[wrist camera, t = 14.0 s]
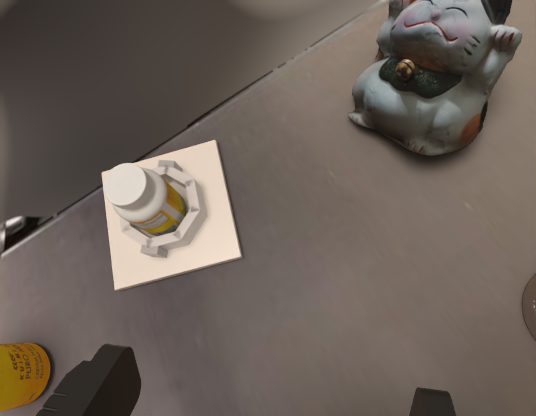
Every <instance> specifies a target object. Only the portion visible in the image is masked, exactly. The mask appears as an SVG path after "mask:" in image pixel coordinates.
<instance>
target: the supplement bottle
mask: <svg viewBox="0 0 536 416" xmlns="http://www.w3.org/2000/svg"><path fill="white" fill-rule="evenodd" d="M103 191H104V195H105V197H106V198H107V199H108V201H109V202H111V203H112V205H113V208H114V210H115V211H116V213H117V214H118V215H119V216H120V217H121V218H123V219H124V220H126V221H128V222H130V223H132V224H133V225H135V226H137V227H139V228H141V229H143V230H144V231H146V232H148V233H150V234H152V235H154V236H161V235H164V234H168V233H172V232H175V231H176V230H177V228H178V227H179V225H180V224H181V222H182V221H183V219H184V218H185V216H186V214H187V213H188V211H187V205H186V202H185V200H184V198H183V197H182V196H181V195H180V194H179V193H178V192H177V191H176V190H175V189H174V188H173V187H172V186H171V185H169V184H168V183H167V182H166V181H165V180H164V179H163V178H162V177H161V176H160V175H159V174H158V173H156V172H155V171H153V170H151V169H147V168H141V167H139V166H138V165H135V164H132V163H124V164H120V165H118V166H116V167H115V168H113V169H112V170H111V171H110V172H109V173H108V174H107V176H106V178H105V180H104V184H103Z"/></svg>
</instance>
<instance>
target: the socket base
mask: <svg viewBox="0 0 536 416" xmlns="http://www.w3.org/2000/svg"><path fill="white" fill-rule="evenodd" d="M133 164H135V165H138V166H139V167H141V168H147V169H151V170H153V171H155V172H156V173H158V174H159V175H160V176H161V177H162V178H163V179H164V180H165V181H166V182H167V183H168V184H169V185H171V186H172V187H173V188H174V189H175V190H176V191H177V192H178V193H179V194H180V195H181V196H182V197H183V198H184V200H185V202H186V205H187V211H188V213H187V214H186V216H185V218H184V219H183V221H182V222H181V224H180V225H179V227H178V228H177V230H176V231H175V232H172V233H168V234H164V235H161V236H154V235H152V234H150V233H148V232H146V231H144V230H143V229H141V228H139V227H137V226H135V225H133V224H132V223H130V222H128V221H126V220H124V219H123V218H121V217H120V216H119V215H118V214H117V213H116V211H115V210H114V208H113V205H112V203H111V202H109V201H108V199H107V198H106V197H105V195H104V197H105V206H106V215H107V224H108V233H109V242H110V251H111V260H112V269H113V278H114V287H115V290H118V291H120V290H124V289H128V288H132V287H135V286H139V285H143V284H147V283H150V282H154V281H158V280H162V279H165V278H169V277H173V276H177V275H180V274H184V273H188V272H192V271H195V270H199V269H203V268H207V267H210V266H214V265H218V264H222V263H225V262H229V261H233V260H237V259H240V258H243V256H242V252H241V247H240V243H239V238H238V234H237V229H236V225H235V220H234V216H233V211H232V207H231V202H230V198H229V193H228V188H227V184H226V179H225V175H224V170H223V166H222V161H221V157H220V152H219V148H218V143H217V142H216V140H213V141H209V142H206V143H202V144H199V145H195V146H192V147H188V148H185V149H181V150H178V151H174V152H171V153H167V154H164V155H161V156H157V157H154V158H150V159H147V160H143V161H140V162H136V163H133ZM110 171H111V170H108V171H105V172H102V179H103V184H104V180H105V178H106V176H107V174H108V173H109V172H110Z"/></svg>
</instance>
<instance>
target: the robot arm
mask: <svg viewBox="0 0 536 416" xmlns="http://www.w3.org/2000/svg"><path fill="white" fill-rule="evenodd" d="M522 306H523V315H524V318H525V321H526V325H527V327H528V329H529V330H530V332H531V334H532V336H533V337H534V338H535V340H536V274H535V275H534V276H533V277H532V279H531V280H530V281H529V283H528V284H527V286H526V289H525V291H524V295H523V302H522ZM140 390H141V378H140V375H139V371H138V367H137V363H136V360H135V356H134V352H133V349H132V348H131V347H127V346H120V345H113V344H104V345H103V346H102V347H101V348H100V349H99V350H98V352H97V353H96V354H95V356H94V357H93V359H92V360H91V361H82V362H81V363H80V364H79V365H77V366H76V367H75V368H74V369H72V370H71V371H70V372H69V373H67V374H66V376H65V377H64V378H63V380H62V381H61V382H60V384H59V385H58V386H57V388H56V389H55V390H54V393H53V395H51V396H50V397H49V399H48V400H47V401H46V403H45V404H44V405H43V409H42V410H40V411H39V412H38V413H37V415H36V416H130V415H131V413H132V411H133V409H134V407H135V405H136V403H137V401H138V398H139V395H140ZM409 416H456V414H455V411H454V407H453V403H452V399H451V396H450V394H449V393H448V392H447V391H440V390H433V389H426V388H417V389H416V391H415V395H414V399H413V403H412V407H411V411H410V415H409Z"/></svg>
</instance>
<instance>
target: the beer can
mask: <svg viewBox="0 0 536 416" xmlns="http://www.w3.org/2000/svg"><path fill="white" fill-rule="evenodd" d="M49 376H50V362H49V359H48V356H47V354H46V353H45V351H44V350H43V349H42V348H41V347H40V346H38V345H36V344H33V343H16V344H0V412H1V411H5V410H8V409H12V408H16V407H19V406H23V405H26V404H29V403H31V402H32V401H34V400H35V399H36V398H37V397H39V395H40V394H41V393H42V392H43V390H44V388H45V387H46V384H47V382H48V379H49Z"/></svg>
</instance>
